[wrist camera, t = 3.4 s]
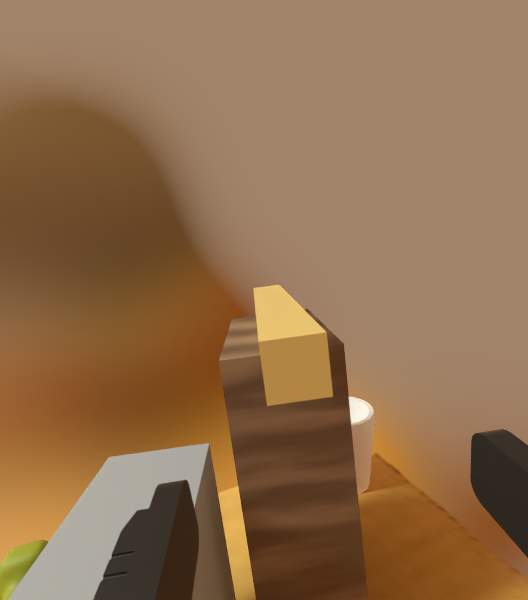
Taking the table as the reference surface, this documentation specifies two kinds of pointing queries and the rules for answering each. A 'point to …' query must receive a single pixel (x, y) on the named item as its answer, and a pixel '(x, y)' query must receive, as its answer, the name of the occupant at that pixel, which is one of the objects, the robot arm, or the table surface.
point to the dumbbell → (18, 566)
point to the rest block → (116, 514)
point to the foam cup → (362, 440)
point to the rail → (290, 349)
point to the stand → (294, 478)
